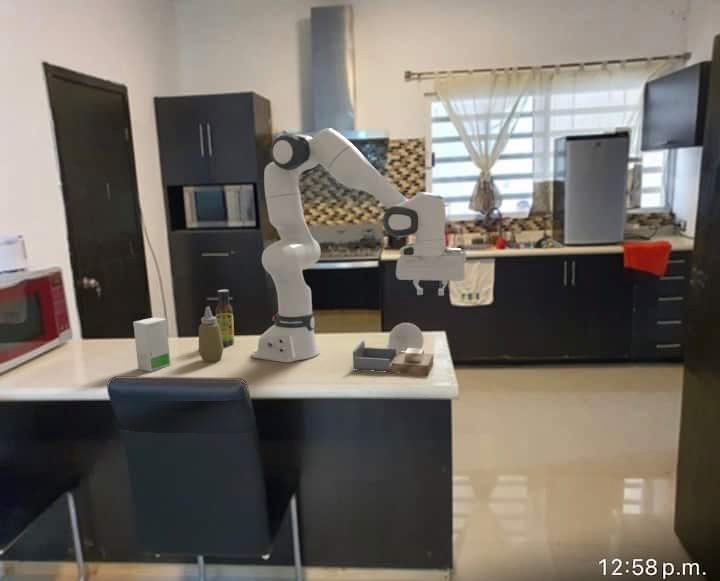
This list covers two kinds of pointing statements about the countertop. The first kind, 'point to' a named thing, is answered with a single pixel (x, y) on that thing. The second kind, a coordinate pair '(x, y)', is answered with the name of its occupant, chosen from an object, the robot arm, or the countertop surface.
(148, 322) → the skincare box
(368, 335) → the countertop surface
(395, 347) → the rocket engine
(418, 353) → the tile
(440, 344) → the countertop surface
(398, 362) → the bench plate
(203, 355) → the squeeze bottle
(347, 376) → the countertop surface
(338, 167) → the robot arm
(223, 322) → the sauce bottle
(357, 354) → the box
